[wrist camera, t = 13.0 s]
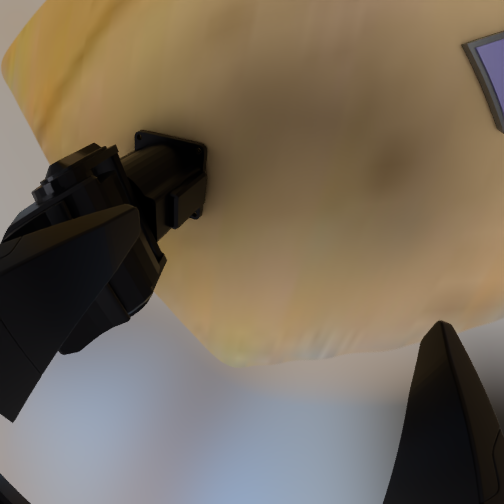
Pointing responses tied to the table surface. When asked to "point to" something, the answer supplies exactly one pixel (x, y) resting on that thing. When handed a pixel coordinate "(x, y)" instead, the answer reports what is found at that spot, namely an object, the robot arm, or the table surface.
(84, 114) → the table surface
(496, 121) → the ink pad
